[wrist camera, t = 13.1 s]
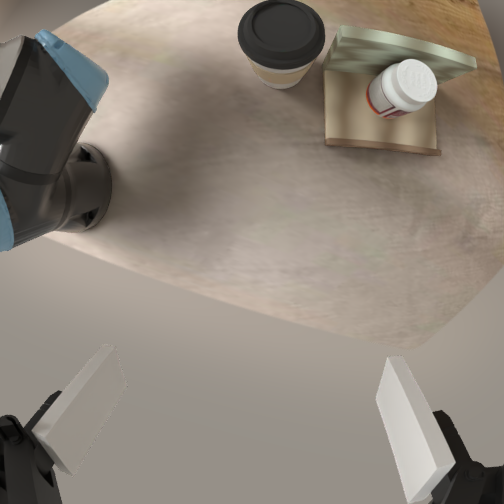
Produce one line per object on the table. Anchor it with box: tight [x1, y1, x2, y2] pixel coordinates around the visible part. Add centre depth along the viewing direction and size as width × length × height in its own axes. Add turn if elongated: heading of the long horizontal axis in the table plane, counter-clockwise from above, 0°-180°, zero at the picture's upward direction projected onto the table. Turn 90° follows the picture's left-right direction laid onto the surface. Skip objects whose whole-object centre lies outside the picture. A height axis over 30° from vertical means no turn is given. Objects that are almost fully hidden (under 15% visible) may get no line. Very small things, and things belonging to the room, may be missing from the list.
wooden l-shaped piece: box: [322, 25, 477, 156], centre depth 30 cm, size 17×12×14 cm
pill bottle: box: [365, 59, 437, 119], centre depth 29 cm, size 6×6×11 cm
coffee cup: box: [238, 0, 325, 89], centre depth 29 cm, size 9×9×15 cm
